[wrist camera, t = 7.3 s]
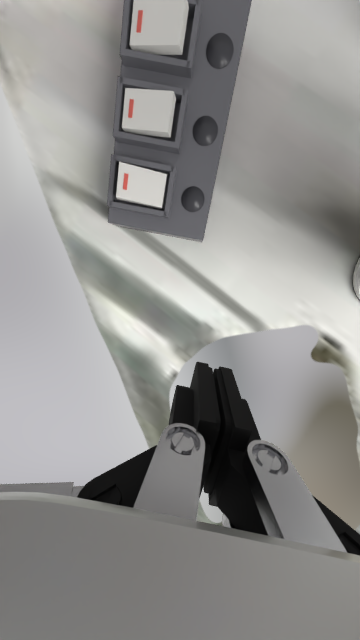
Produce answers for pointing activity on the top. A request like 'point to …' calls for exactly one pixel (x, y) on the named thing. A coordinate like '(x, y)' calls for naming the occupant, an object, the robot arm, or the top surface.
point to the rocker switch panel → (180, 117)
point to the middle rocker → (148, 112)
